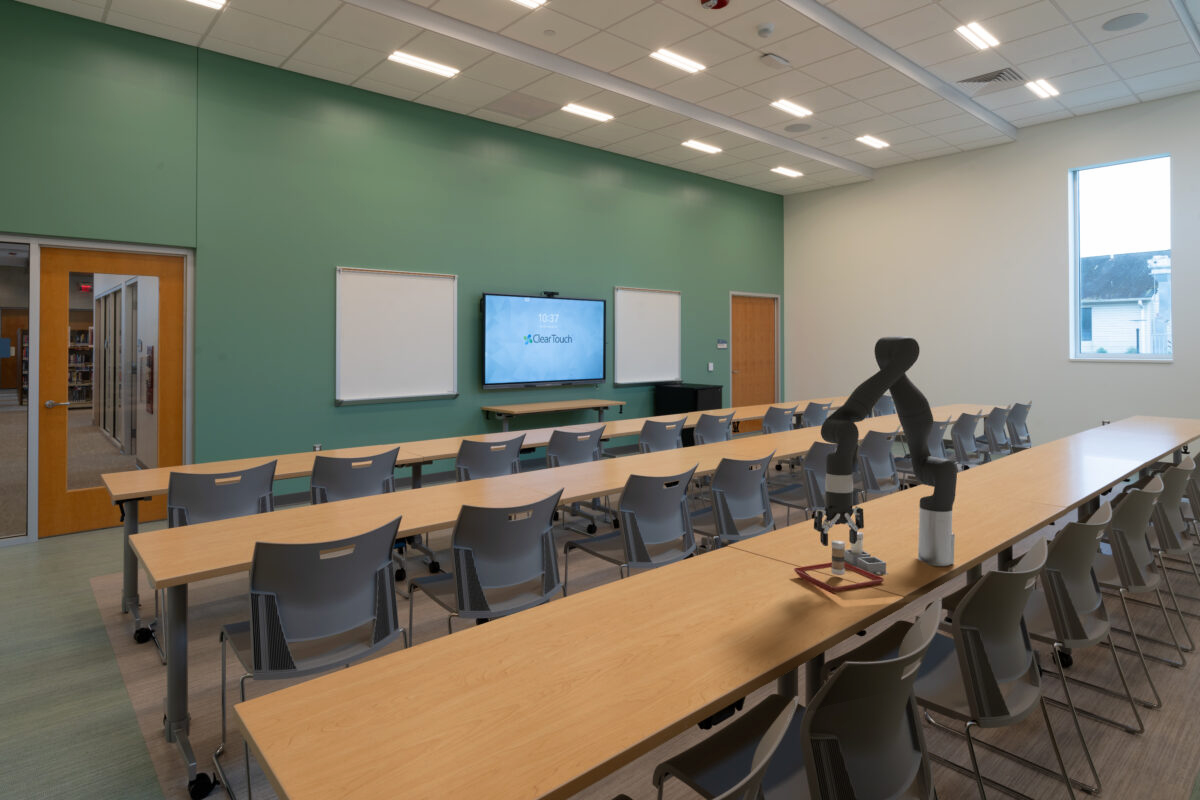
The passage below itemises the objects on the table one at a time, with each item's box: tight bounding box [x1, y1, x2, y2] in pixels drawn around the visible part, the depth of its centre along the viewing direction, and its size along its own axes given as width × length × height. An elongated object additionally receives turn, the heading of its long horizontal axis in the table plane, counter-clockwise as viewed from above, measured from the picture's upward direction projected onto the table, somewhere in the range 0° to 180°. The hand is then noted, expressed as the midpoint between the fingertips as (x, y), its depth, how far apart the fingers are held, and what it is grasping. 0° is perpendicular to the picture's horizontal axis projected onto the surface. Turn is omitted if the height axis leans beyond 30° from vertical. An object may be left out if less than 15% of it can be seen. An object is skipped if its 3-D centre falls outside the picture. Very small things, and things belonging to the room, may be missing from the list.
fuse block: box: [844, 548, 889, 576], centre depth 199 cm, size 6×16×4 cm, turn 9°
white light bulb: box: [850, 531, 864, 555], centre depth 202 cm, size 4×4×9 cm
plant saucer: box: [793, 561, 885, 596], centre depth 189 cm, size 18×18×3 cm
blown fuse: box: [830, 540, 846, 576], centre depth 189 cm, size 4×4×9 cm
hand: (838, 544), depth 188 cm, fingers open, 8 cm apart
